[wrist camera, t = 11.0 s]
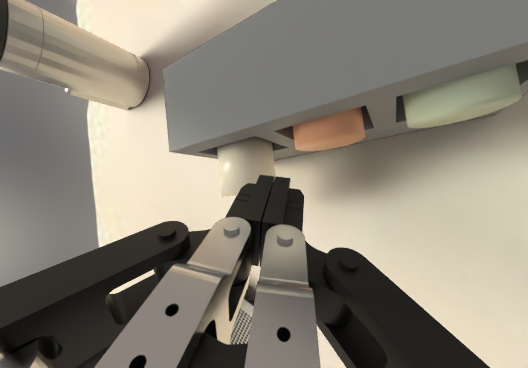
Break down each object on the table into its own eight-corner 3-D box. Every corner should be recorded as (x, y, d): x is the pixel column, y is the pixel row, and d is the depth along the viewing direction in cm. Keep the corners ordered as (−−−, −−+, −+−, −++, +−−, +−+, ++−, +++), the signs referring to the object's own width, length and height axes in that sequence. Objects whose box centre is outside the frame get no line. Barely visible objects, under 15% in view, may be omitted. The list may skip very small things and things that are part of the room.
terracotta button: (301, 99, 21) (276, 77, 16) (359, 80, 18) (348, 47, 14) (307, 153, 20) (284, 145, 16) (368, 141, 18) (360, 127, 14)
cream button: (238, 148, 24) (204, 140, 20) (280, 137, 22) (251, 126, 17) (243, 195, 24) (209, 197, 20) (286, 189, 21) (259, 191, 17)
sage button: (395, 67, 17) (395, 27, 13) (485, 37, 14) (523, -26, 10) (405, 132, 17) (409, 114, 12) (499, 113, 14) (545, 82, 10)
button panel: (249, 112, 30) (162, 68, 19) (480, 32, 19) (609, -199, 7) (255, 164, 30) (169, 151, 18) (495, 114, 18) (658, 1, 7)
